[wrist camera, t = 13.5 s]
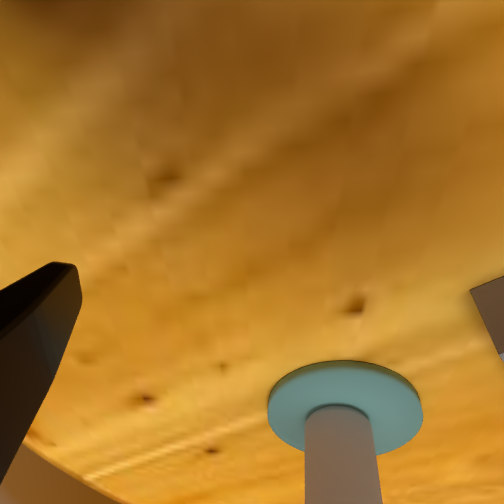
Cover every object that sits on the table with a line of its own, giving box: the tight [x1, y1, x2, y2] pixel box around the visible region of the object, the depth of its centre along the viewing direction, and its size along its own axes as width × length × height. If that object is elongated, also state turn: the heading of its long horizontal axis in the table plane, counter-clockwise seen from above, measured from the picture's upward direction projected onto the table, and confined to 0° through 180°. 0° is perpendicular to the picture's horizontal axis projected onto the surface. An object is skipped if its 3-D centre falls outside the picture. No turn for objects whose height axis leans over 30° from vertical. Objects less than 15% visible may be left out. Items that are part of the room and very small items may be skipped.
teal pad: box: [268, 361, 423, 455], centre depth 32 cm, size 11×11×1 cm
